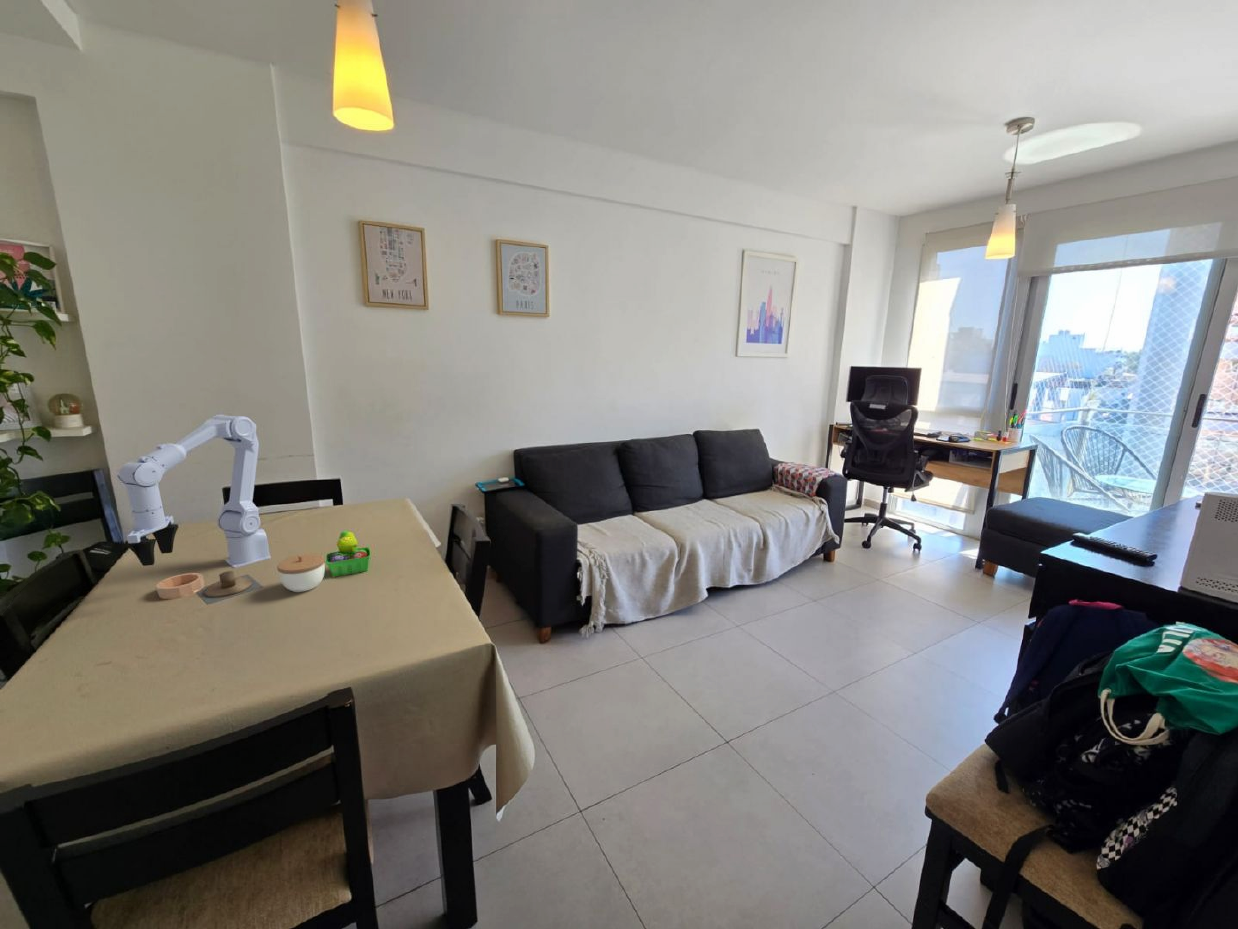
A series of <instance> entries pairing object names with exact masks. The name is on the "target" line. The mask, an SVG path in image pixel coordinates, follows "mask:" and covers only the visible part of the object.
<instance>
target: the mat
mask: <svg viewBox="0 0 1238 929" xmlns="http://www.w3.org/2000/svg"><path fill="white" fill-rule="evenodd" d="M239 577H245V578H250V579H251V580H252V585H251V587H250V588H248V589H247V590H245V591H243V592H240V593H237V594H234V595H231V596H226V597H218V598H212V597H207V596H206V595H205V592H204V591H205V589H206V588H207V587H208V586H210V585H211V584H210V585H206V586H204V587H203V588H202V589H201V590H199V591H198V592H196V593H195V594H197V596H199V597H200V598H201V600H203V601H204V603H206V604H207V605H211V604H214V603H215V604H216V603H218V602H221V601H223V600H227V599H230V598H231V599H232V598H234V597H236V596H237V597H238V596H239V595H243V594H246V593H251V592H252V591H256V590H260V589H262V588H264V586H263V585H262V584H260V583H259V582H258V581H257V580H256V579H255V578H253V577H252V576H250V574H248V573H247V574H244V575H241V576H239Z"/></svg>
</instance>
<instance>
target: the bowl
mask: <svg viewBox="0 0 1238 929" xmlns="http://www.w3.org/2000/svg"><path fill="white" fill-rule="evenodd" d="M155 587H156V591H157V595H158V597H159V598H160V599H163V600H175V599H181V598H185V597H188V596H190V595H191V596H192V595H193V594H197V593H196V592H198V591H199V590H201V589H202V588H203V587H205V580H204V576H203V575H202V574H201V573H197V572H188V573H183V574H182V573H181V574H177V575H173V576H170V577H168V578H165V579H162V580H160V581H159V582H158V583H157V584H156V585H155Z"/></svg>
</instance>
